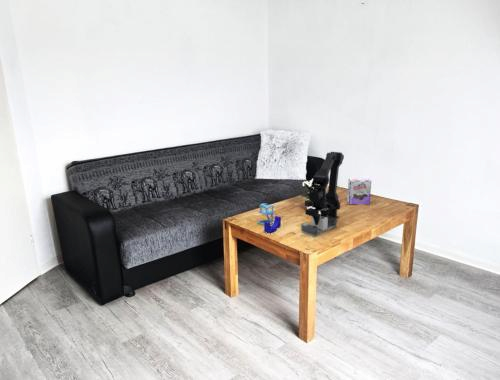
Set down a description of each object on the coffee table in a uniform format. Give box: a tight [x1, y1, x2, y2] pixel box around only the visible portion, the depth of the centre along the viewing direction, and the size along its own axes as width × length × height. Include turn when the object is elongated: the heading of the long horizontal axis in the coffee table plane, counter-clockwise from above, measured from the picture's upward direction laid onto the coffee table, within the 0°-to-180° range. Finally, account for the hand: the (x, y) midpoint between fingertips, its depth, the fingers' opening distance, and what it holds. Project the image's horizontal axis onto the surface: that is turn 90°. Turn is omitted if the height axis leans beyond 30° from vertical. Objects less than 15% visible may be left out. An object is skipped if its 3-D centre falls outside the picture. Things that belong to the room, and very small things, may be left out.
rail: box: [300, 216, 338, 237], centre depth 225 cm, size 20×9×5 cm, turn 134°
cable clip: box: [263, 215, 282, 235], centre depth 226 cm, size 12×4×6 cm, turn 143°
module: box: [310, 216, 328, 230], centre depth 225 cm, size 4×8×6 cm, turn 44°
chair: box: [256, 202, 275, 226], centre depth 235 cm, size 8×8×12 cm
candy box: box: [346, 178, 372, 205], centre depth 265 cm, size 14×6×16 cm, turn 88°
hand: (319, 223), depth 225 cm, fingers open, 5 cm apart
